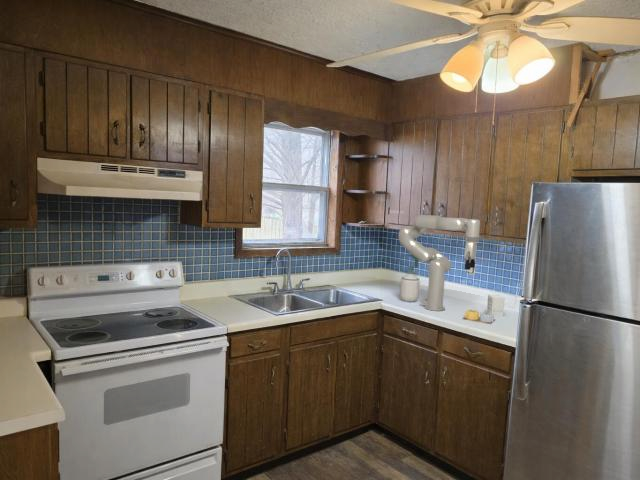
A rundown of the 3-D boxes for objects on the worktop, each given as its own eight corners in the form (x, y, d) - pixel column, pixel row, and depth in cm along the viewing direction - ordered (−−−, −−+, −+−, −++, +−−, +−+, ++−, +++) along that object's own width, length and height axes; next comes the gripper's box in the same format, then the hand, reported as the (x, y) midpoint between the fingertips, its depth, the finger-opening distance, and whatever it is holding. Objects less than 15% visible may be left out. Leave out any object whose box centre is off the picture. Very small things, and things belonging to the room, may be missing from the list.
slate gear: (480, 321, 263) (481, 314, 262) (478, 318, 270) (479, 311, 269) (494, 322, 262) (494, 315, 261) (491, 319, 269) (492, 312, 268)
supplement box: (498, 315, 284) (499, 295, 283) (503, 318, 277) (505, 297, 276) (486, 315, 284) (487, 294, 283) (490, 318, 277) (492, 297, 276)
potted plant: (404, 297, 322) (407, 252, 319) (421, 300, 315) (424, 254, 312) (396, 300, 312) (399, 254, 309) (413, 303, 305) (417, 256, 302)
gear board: (461, 321, 267) (462, 309, 266) (467, 316, 278) (468, 305, 277) (490, 326, 258) (491, 314, 258) (495, 321, 269) (496, 310, 269)
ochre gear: (463, 318, 269) (464, 311, 269) (467, 315, 275) (467, 309, 275) (476, 320, 265) (477, 313, 265) (479, 317, 271) (480, 311, 271)
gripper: (469, 238, 287) (467, 266, 288) (461, 240, 272) (459, 269, 274) (481, 239, 283) (479, 267, 284) (474, 241, 268) (472, 270, 270)
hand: (469, 268), depth 279 cm, fingers open, 9 cm apart
